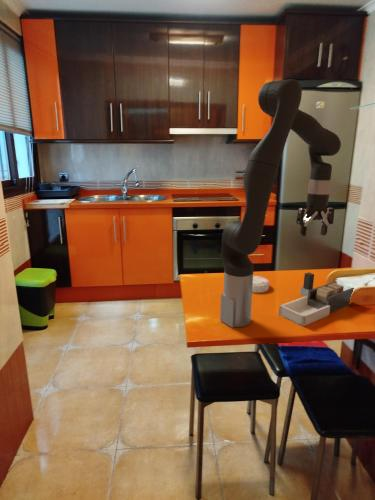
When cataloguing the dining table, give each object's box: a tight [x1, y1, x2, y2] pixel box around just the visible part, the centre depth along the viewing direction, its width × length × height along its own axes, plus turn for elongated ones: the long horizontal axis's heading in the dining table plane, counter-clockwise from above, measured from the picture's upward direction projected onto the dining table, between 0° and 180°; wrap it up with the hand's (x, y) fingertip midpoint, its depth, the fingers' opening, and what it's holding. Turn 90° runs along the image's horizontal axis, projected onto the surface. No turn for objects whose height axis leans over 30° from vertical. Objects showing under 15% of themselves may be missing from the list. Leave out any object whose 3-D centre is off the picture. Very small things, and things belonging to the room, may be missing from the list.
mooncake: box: [252, 275, 270, 294], centre depth 143 cm, size 12×12×4 cm
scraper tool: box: [299, 272, 315, 297], centre depth 134 cm, size 2×5×9 cm, turn 34°
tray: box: [278, 296, 330, 327], centre depth 119 cm, size 14×10×4 cm
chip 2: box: [327, 282, 345, 295], centre depth 127 cm, size 4×4×4 cm
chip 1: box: [316, 286, 334, 303], centre depth 124 cm, size 4×4×4 cm
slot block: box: [307, 281, 355, 314], centre depth 126 cm, size 16×8×6 cm, turn 124°
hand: (313, 235), depth 131 cm, fingers open, 8 cm apart
